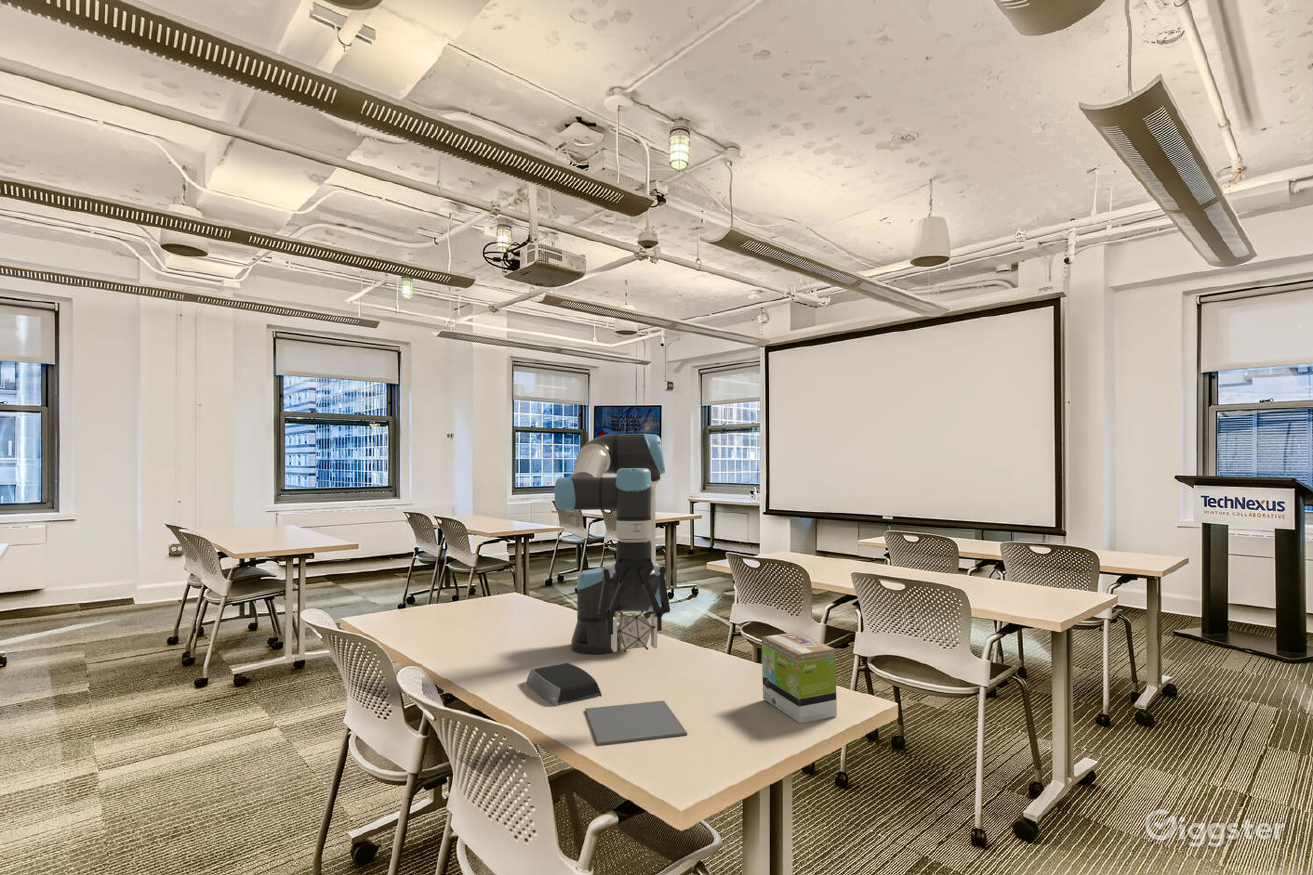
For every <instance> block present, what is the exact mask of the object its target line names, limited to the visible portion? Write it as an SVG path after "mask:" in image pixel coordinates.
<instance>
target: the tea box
mask: <svg viewBox="0 0 1313 875" xmlns="http://www.w3.org/2000/svg"><path fill="white" fill-rule="evenodd" d="M836 661H837V660H836V648H834V647H831V646H829V645H827V644H825V643H822V642H820V641H817V640H815V639H814V638H810V637H809V636H807V635H804V634H802V633H800V632H797V631H794V632H788V633H787V632H786V633H780V634H779V633H778V634H774V635H773V634H772V635H768V636H767V635H765V636H763V635H762V636H761V666H762V669H761V670H762V672H761V674H762V699H763V700H764V701H766V702H768V703H770V704H771V705H773V707H775V708H777V709H778V710H780V711H781V712H782V713H784V714H786V715H787V716H788V717H790V718H791V719H793V720H794V721H795V722H797V723H798V724H806V723H811V722H815V721H821V720H824V719H829V718H830V719H831V718H836V717H837V716H838V709H837V708H838V707H837V706H838V704H837V703H838V702H837V664H836V663H837V662H836Z"/></svg>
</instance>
